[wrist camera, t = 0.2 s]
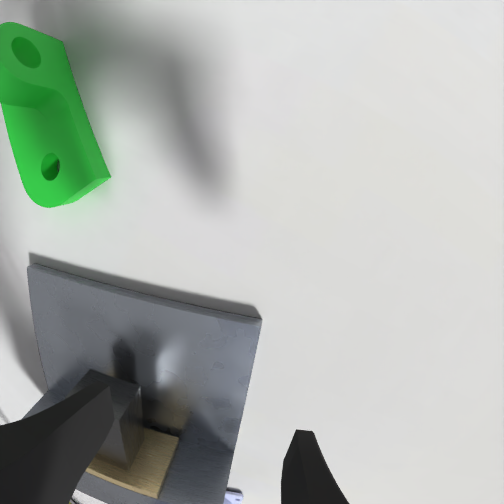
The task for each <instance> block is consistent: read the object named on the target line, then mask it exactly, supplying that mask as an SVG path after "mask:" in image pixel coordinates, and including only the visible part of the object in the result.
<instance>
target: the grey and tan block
mask: <svg viewBox="0 0 504 504" xmlns="http://www.w3.org/2000/svg"><path fill="white" fill-rule="evenodd" d="M95 381H99V382H101V383H104V384H107V385H110V392H111V399H112V406H113V412H114V418H115V420H114V423H113V425H112V427H111V429H110V431H109V434H108V436H107V438H106V440H105V441H104V443H103V444H102V446H101V448H100V449H99V451H98V452H97V454H96V455H95V457H94V458H93V460H92V461H91V463H90V464H89V466H88V468H87V469H86V472H88V473H90V474H92V475H95V476H97V477H99V478H102V479H104V480H106V481H109V482H111V483H114V484H116V485H119V486H121V487H124V488H127V489H129V490H132V491H135V492H138V493H141V494H144V495H147V496H150V497H153V498H156V499H158V496H159V494H160V491H161V489H162V486H163V483H164V481H165V478H166V476H167V473H168V470H169V468H170V465H171V462H172V460H173V457H174V455H175V452H176V449H177V447H178V444H179V438H178V437H174V436H171V435H167V434H164V433H161V432H157V431H154V430H151V429H148V428H144V426H143V414H142V401H141V386H139V385H136V384H133V383H130V382H127V381H124V380H121V379H118V378H115V377H112V376H110V375H107V374H104V373H101V372H99V371H96V370H93V369H90V370H89V371H88V372H87V373H86V374H85V375H84V376H83V378H82V379H81V380H80V381H79V382H78V383H77V384H76V385H75V387H74V388H73V389H72V390H71V391H70V392H69V394H68V395H67V396H66V397H65V399H66V398H68V397H70V396H71V395H73V394H75V393H76V392H78V391H80V390H82V389H83V388H85V387H87V386H88V385H90V384H92V383H94V382H95Z"/></svg>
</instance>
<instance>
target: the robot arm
mask: <svg viewBox="0 0 504 504" xmlns="http://www.w3.org/2000/svg"><path fill="white" fill-rule="evenodd" d="M114 420H115V418H114V412H113V406H112V399H111V392H110V385H107V384H104V383H101V382H99V381H95V382H94V383H92V384H90V385H88V386H87V387H85V388H83V389H82V390H80V391H78V392H76V393H75V394H73V395H71V396H70V397H68V398H66V399H64V400H62V401H61V402H59V403H57V404H55V405H53V406H51V407H49V408H47V409H45V410H43V411H41V412H39V413H37V414H35V415H32V416H30V417H27V418H24V419H22V420H19V421H16V422H12V423H9V424H5V425H1V426H0V504H69V502H70V499H71V497H72V495H73V493H74V491H75V488H76V486H77V484H78V482H79V480H80V479H81V477H82V475H83V474H84V472H85V471H86V469H87V468H88V466H89V464H90V463H91V461H92V460H93V458H94V457H95V455H96V454H97V452H98V451H99V449H100V448H101V446H102V444H103V443H104V441H105V440H106V438H107V436H108V434H109V431H110V429H111V427H112V425H113V423H114ZM242 500H243V494H241V493H236V492H230V491H226V493H225V498H224V503H223V504H241V503H242ZM281 504H349V502H348V501H347V499H346V498H345V496H344V495H343V493H342V492H341V490H340V488H339V487H338V485H337V483H336V481H335V479H334V478H333V476H332V474H331V472H330V470H329V468H328V466H327V464H326V462H325V459H324V457H323V455H322V452H321V450H320V448H319V445H318V443H317V440H316V437H315V434H314V433H313V431H305V430H296V431H295V434H294V436H293V439H292V441H291V444H290V446H289V449H288V451H287V453H286V456H285V458H284V461H283V470H282V479H281Z"/></svg>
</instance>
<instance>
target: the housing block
mask: <svg viewBox="0 0 504 504" xmlns="http://www.w3.org/2000/svg"><path fill="white" fill-rule="evenodd" d="M27 275H28V285H29V293H30V301H31V309H32V315H33V321H34V327H35V333H36V338H37V343H38V348H39V353H40V357H41V362H42V366H43V370H44V374H45V378H46V382H47V386H48V389H49V390H48V391H47V392H46V394H45V395H44V396H43V397H42V398H41V399H40V400H39V401H38V402H37V403H36V404H35V405H34V406H33V407H32V409H31V410H30V411H29V412H28V413H27V414H26V415H25V416H24V417H23V418H22V419H24V418H27V417H30V416H32V415H35V414H37V413H39V412H41V411H43V410H45V409H47V408H49V407H51V406H53V405H55V404H57V403H59V402H61V401H62V400H64V399H65V397H66V396H67V395H68V394H69V392H70V391H71V390H72V389H73V388H74V387H75V385H76V384H77V383H78V382H79V381H80V380H81V379H82V378H83V376H84V375H85V374H86V373H87V372H88V371H89V370H90V369H93V370H96V371H99V372H101V373H104V374H107V375H110V376H112V377H115V378H118V379H121V380H124V381H127V382H130V383H133V384H136V385H139V386H141V401H142V414H143V426H144V428H148V429H151V430H154V431H157V432H161V433H164V434H167V435H171V436H174V437H178V438H179V444H178V447H177V449H176V452H175V455H174V457H173V460H172V462H171V465H170V468H169V470H168V473H167V476H166V478H165V481H164V483H163V486H162V489H161V491H160V494H159V496H158V499H156V498H153V497H150V496H147V495H144V494H141V493H138V492H135V491H132V490H129V489H127V488H124V487H121V486H119V485H116V484H114V483H111V482H109V481H106V480H104V479H102V478H99V477H97V476H95V475H92V474H90V473H88V472H86V471H85V472H84V474H83V475H82V477H81V479H80V480H79V482H78V484H77V486H76V488H75V489H77V490H79V491H81V492H83V493H85V494H87V495H89V496H91V497H94V498H96V499H98V500H100V501H103V502H105V503H107V504H223V503H224V498H225V493H226V489H227V484H228V479H229V474H230V469H231V464H232V459H233V454H234V450H235V445H236V441H237V436H238V432H239V428H240V423H241V419H242V414H243V410H244V405H245V400H246V396H247V391H248V387H249V382H250V377H251V373H252V368H253V363H254V358H255V354H256V349H257V344H258V339H259V334H260V329H261V324H262V319H259V318H254V317H249V316H243V315H238V314H233V313H228V312H223V311H218V310H214V309H209V308H204V307H200V306H195V305H190V304H186V303H181V302H177V301H173V300H168V299H164V298H160V297H156V296H151V295H147V294H143V293H139V292H135V291H131V290H127V289H123V288H120V287H116V286H112V285H108V284H104V283H101V282H97V281H93V280H90V279H86V278H82V277H79V276H75V275H72V274H68V273H65V272H62V271H58V270H55V269H52V268H48V267H45V266H42V265H38V264H35V263H34V264H32V265H30V266H28V267H27ZM22 419H21V420H22Z"/></svg>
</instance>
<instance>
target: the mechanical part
mask: <svg viewBox="0 0 504 504" xmlns="http://www.w3.org/2000/svg"><path fill="white" fill-rule="evenodd" d="M0 103H1V105H2V110H3V115H4V119H5V123H6V128H7V132H8V136H9V139H10V143H11V147H12V150H13V154H14V157H15V161H16V164H17V167H18V170H19V174H20V177H21V180H22V183H23V186H24V188H25V190H26V192H27V194H28V195H29V197H30V198H31V199H32V200H33V201H34V202H35V203H36V204H38V205H40V206H42V207H47V208H51V207H56V206H61V205H65V204H69V203H73V202H75V201H77V200H78V199H80V198H81V197H83V196H84V195H86V194H87V193H89V192H90V191H91V190H93V189H94V188H96V187H97V186H99V185H100V184H102V183H103V182H105V181H106V180H108V179H109V178H111V176H110V173H109V171H108V169H107V166H106V164H105V162H104V159H103V157H102V154H101V152H100V149H99V147H98V144H97V142H96V139H95V137H94V134H93V131H92V129H91V126H90V123H89V121H88V118H87V115H86V113H85V110H84V107H83V104H82V101H81V98H80V96H79V93H78V90H77V87H76V84H75V81H74V78H73V75H72V71H71V68H70V65H69V62H68V59H67V55H66V52H65V49H64V45H63V42H62V41H60V40H57V39H55V38H53V37H50V36H48V35H46V34H43V33H41V32H38V31H36V30H34V29H31V28H29V27H26V26H23V25H21V24H18V23H14V22H6V23H3V24H1V25H0ZM58 160H59V162H60V170H59V173H58V171H57V163H58Z"/></svg>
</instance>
